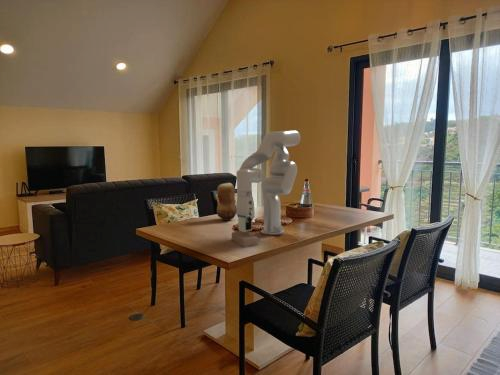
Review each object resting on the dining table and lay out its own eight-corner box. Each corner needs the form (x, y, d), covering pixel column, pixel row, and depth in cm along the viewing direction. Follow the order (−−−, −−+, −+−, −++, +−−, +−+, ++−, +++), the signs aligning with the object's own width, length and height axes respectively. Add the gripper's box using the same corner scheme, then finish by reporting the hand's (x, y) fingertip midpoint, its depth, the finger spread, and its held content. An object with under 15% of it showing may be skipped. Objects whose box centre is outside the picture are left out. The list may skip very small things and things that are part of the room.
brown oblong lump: (213, 219, 253) (212, 183, 250) (229, 217, 261) (228, 181, 258) (224, 223, 242) (223, 184, 239) (241, 220, 250) (240, 182, 247)
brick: (259, 245, 188) (259, 236, 188) (244, 247, 185) (244, 238, 184) (245, 238, 203) (245, 230, 203) (231, 240, 200) (230, 232, 199)
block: (252, 230, 193) (251, 216, 192) (244, 231, 190) (243, 218, 189) (246, 228, 197) (246, 215, 196) (238, 230, 194) (238, 216, 193)
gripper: (260, 194, 186) (261, 230, 189) (240, 191, 200) (241, 224, 202) (248, 196, 182) (249, 232, 184) (229, 193, 195) (230, 227, 198)
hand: (245, 228), depth 193 cm, fingers closed on block, 5 cm apart
